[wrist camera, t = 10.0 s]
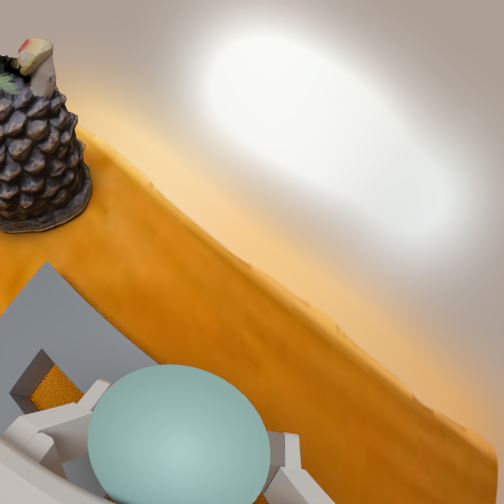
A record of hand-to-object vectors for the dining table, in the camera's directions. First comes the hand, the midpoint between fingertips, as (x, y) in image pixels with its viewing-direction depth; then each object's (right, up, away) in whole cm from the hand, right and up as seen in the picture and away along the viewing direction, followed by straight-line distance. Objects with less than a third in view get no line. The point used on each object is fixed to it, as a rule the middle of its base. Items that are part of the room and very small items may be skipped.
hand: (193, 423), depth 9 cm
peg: (-1, -3, +4) cm, 5 cm away
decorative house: (-28, +13, +27) cm, 41 cm away
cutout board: (-17, -9, +15) cm, 25 cm away
